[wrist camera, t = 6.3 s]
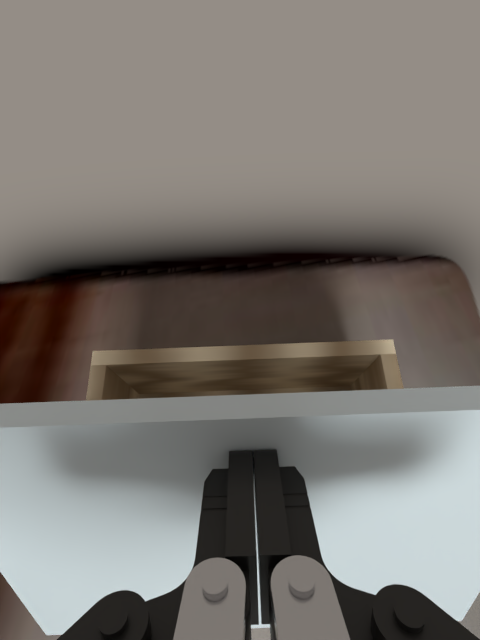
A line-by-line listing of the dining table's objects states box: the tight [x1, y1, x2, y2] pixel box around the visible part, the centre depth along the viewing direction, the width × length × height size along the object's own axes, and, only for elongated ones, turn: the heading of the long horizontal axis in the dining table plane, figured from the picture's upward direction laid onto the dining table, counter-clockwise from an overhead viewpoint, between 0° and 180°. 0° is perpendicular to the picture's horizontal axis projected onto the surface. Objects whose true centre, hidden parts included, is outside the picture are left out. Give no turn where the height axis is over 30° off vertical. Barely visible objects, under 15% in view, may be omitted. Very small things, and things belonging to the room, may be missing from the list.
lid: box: [0, 386, 480, 635], centre depth 15 cm, size 20×14×1 cm
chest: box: [86, 340, 404, 401], centre depth 26 cm, size 20×14×9 cm
